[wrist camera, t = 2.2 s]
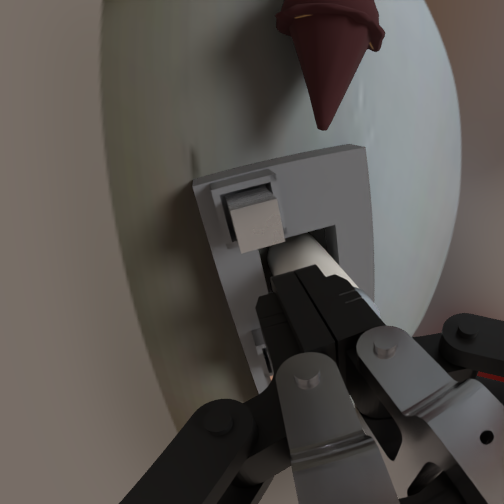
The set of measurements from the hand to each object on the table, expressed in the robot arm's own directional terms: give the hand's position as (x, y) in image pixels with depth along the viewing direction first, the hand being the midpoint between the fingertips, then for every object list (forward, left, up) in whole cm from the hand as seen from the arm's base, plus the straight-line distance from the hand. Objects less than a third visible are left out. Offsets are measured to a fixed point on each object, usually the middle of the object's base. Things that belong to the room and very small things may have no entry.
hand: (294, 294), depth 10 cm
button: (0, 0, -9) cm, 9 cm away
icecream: (-11, +8, -14) cm, 19 cm away
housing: (+10, +3, -13) cm, 17 cm away
